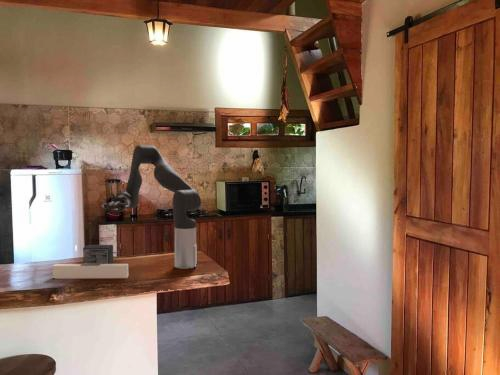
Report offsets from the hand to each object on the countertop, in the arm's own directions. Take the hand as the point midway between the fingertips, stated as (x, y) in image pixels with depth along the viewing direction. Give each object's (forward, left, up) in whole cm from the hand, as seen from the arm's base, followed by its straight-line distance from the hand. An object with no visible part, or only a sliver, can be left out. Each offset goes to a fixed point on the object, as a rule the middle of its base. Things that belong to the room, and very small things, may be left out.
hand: (110, 208), depth 177 cm
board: (0, +26, -24) cm, 35 cm away
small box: (0, +17, -24) cm, 30 cm away
